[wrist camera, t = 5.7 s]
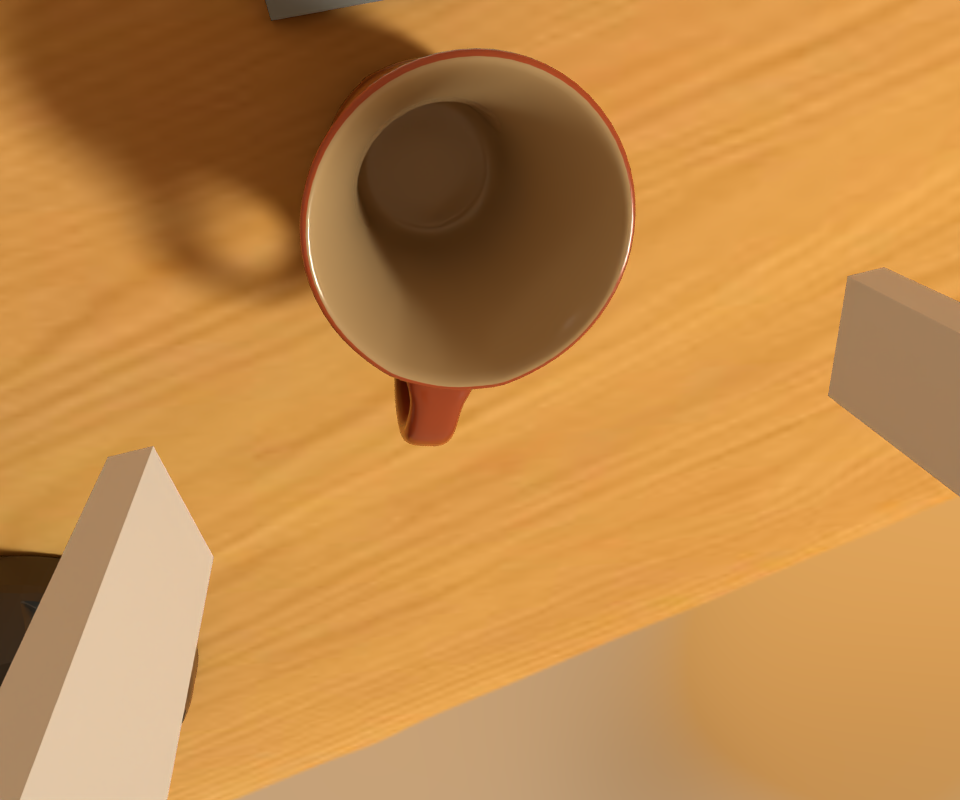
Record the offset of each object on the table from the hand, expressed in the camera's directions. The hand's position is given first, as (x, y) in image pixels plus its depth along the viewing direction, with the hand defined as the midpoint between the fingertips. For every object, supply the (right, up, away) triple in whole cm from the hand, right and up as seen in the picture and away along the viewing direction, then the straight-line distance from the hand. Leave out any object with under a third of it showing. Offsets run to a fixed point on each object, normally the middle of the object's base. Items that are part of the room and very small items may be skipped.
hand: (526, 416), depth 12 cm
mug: (-4, +8, +14) cm, 17 cm away
